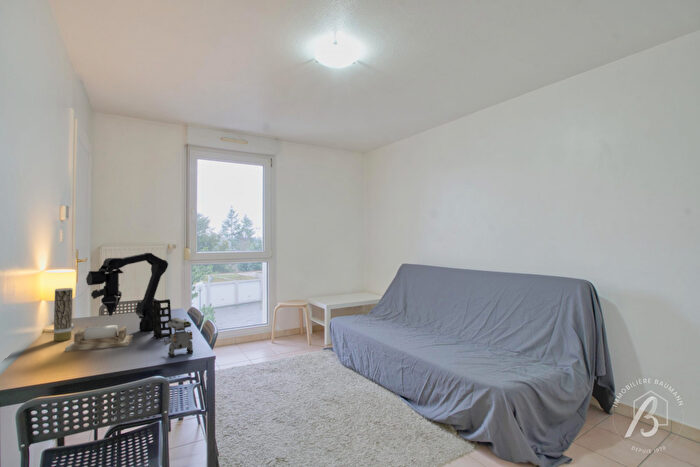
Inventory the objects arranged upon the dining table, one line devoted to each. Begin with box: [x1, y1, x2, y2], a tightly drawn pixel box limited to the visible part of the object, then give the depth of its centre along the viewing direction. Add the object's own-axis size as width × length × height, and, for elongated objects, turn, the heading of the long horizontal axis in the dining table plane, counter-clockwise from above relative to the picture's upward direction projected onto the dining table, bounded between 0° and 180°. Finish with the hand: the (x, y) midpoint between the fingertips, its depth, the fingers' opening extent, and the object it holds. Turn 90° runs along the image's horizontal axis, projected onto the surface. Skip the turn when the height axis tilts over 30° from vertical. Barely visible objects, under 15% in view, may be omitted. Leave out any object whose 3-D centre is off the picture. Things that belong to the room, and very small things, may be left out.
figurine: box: [163, 317, 194, 358], centre depth 156 cm, size 9×12×15 cm
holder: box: [153, 297, 173, 339], centre depth 181 cm, size 11×8×20 cm
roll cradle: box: [64, 326, 134, 352], centre depth 168 cm, size 24×14×6 cm, turn 114°
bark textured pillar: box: [53, 287, 73, 342], centre depth 175 cm, size 7×7×25 cm
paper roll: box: [84, 324, 119, 340], centre depth 168 cm, size 12×6×6 cm, turn 114°
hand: (112, 313), depth 180 cm, fingers open, 9 cm apart
